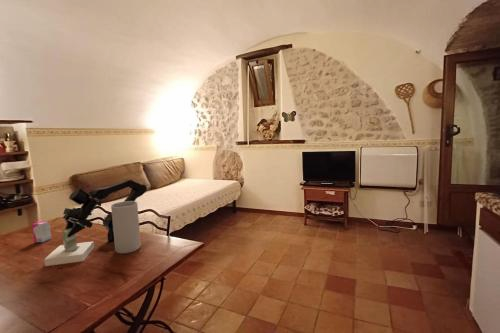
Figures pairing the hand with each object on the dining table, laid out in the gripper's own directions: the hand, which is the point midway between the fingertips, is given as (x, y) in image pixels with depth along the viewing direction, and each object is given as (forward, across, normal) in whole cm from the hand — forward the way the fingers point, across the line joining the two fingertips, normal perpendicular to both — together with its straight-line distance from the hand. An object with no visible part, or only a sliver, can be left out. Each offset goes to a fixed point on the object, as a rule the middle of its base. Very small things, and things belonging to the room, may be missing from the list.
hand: (66, 236), depth 127 cm
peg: (+4, 0, +6) cm, 7 cm away
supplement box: (+6, -38, +11) cm, 39 cm away
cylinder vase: (-6, +19, +23) cm, 30 cm away
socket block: (+7, 0, +9) cm, 11 cm away
